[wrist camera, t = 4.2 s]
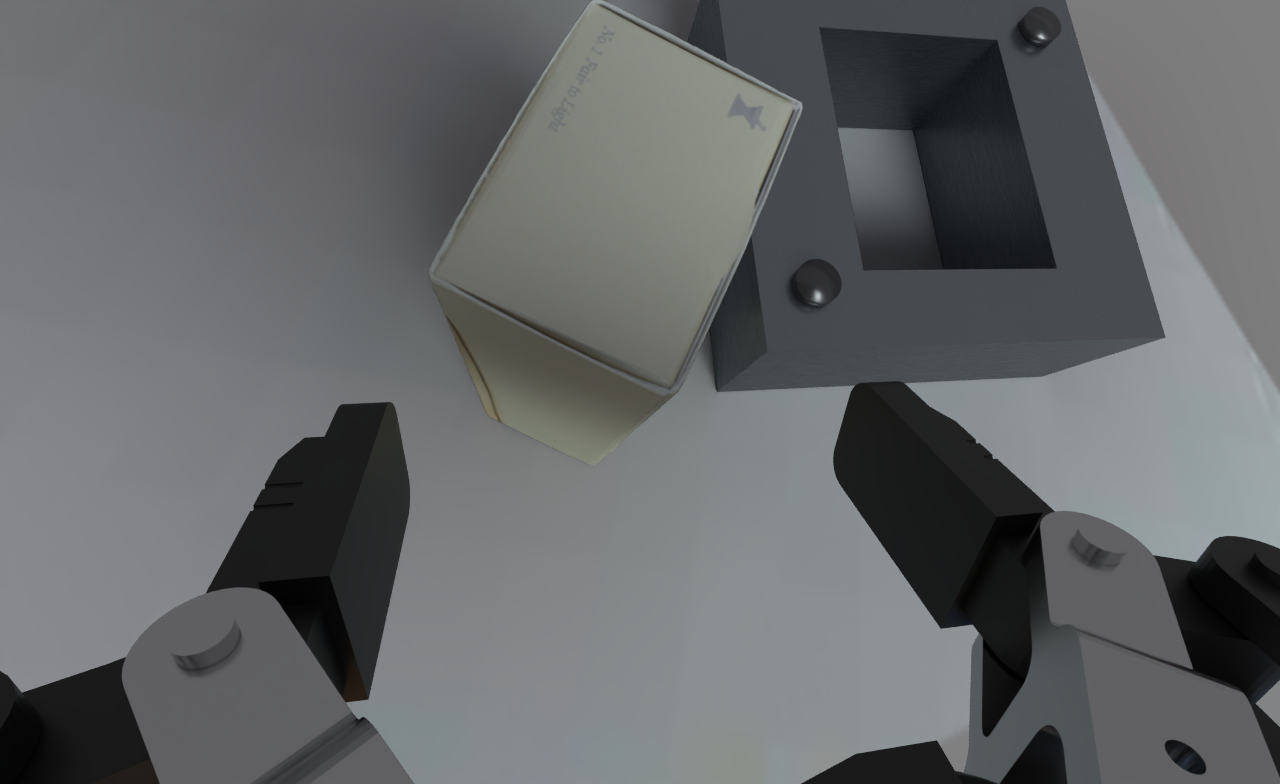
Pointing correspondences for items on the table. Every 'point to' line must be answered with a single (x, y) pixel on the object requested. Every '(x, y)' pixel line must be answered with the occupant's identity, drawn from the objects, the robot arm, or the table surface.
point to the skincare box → (608, 230)
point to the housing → (957, 190)
